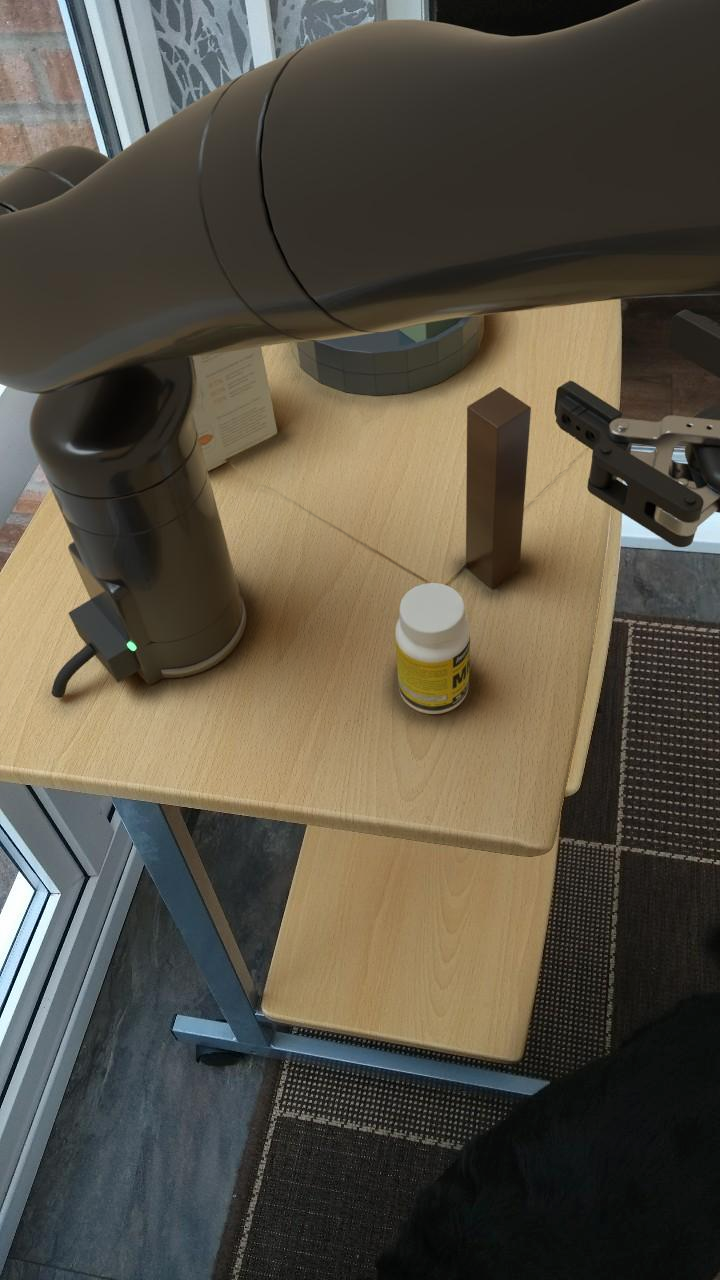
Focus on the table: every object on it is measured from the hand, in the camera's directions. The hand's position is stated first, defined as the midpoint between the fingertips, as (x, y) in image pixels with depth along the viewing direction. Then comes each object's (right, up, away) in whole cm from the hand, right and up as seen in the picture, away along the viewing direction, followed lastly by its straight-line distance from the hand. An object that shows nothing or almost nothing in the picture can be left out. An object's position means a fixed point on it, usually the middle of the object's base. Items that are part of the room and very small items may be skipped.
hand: (618, 361), depth 53 cm
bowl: (-11, +13, +38) cm, 42 cm away
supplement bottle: (-9, -18, +15) cm, 25 cm away
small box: (-25, +2, +32) cm, 41 cm away
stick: (-4, -9, +21) cm, 23 cm away
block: (-7, +13, +38) cm, 41 cm away
